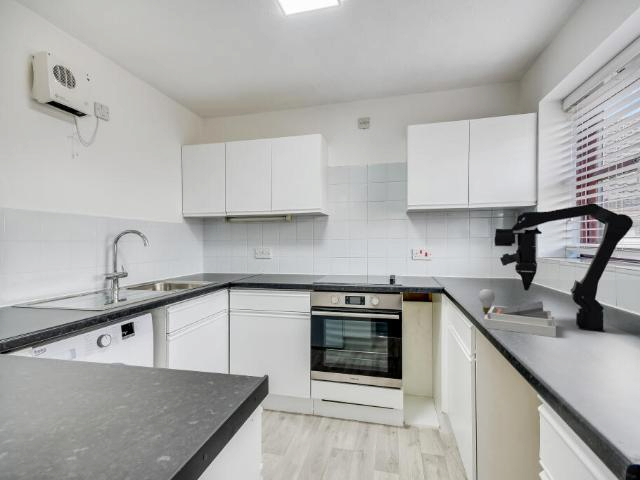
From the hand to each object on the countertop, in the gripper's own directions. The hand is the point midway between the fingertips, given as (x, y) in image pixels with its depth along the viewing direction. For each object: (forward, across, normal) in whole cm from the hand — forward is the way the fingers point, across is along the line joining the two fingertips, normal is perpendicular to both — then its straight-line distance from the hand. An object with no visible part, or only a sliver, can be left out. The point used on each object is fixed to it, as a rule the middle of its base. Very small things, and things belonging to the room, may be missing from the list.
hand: (526, 288), depth 118 cm
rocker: (+6, +10, -2) cm, 12 cm away
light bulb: (+12, -5, -14) cm, 19 cm away
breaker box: (+12, +10, -2) cm, 16 cm away
